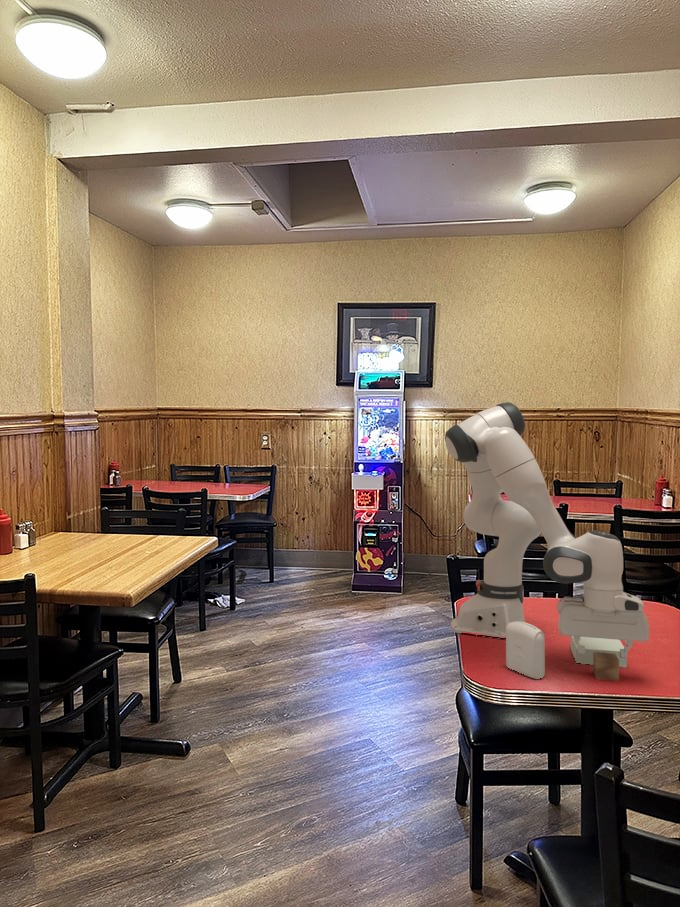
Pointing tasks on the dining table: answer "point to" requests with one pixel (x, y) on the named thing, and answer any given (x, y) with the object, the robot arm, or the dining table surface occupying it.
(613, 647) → the mint base block
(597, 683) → the dining table surface
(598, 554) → the robot arm
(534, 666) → the white slotted box
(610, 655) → the walnut cube
